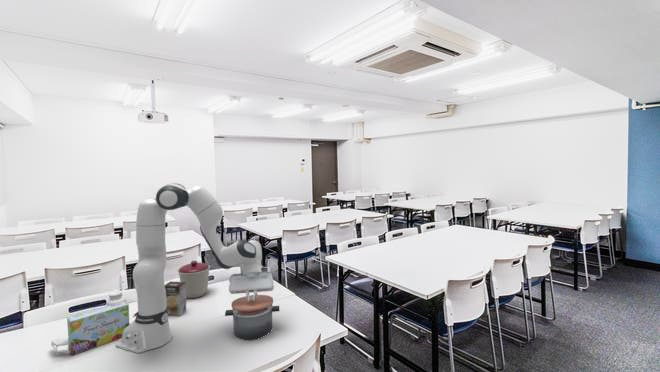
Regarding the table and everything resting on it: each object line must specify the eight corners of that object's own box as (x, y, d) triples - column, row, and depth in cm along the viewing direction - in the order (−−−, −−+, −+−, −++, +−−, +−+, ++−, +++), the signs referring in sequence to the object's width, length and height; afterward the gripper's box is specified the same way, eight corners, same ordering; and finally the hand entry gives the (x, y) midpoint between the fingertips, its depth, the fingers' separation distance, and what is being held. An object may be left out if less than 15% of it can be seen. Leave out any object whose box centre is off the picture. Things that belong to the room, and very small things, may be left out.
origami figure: (84, 344, 135) (83, 334, 134) (67, 357, 126) (65, 346, 126) (58, 345, 135) (56, 334, 135) (39, 358, 127) (38, 346, 126)
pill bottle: (104, 323, 154) (102, 294, 153) (121, 316, 161) (120, 288, 160) (113, 327, 150) (111, 297, 149) (130, 320, 157) (128, 291, 156)
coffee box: (163, 315, 161) (162, 285, 160) (171, 310, 168) (169, 281, 166) (180, 316, 160) (179, 286, 159) (187, 310, 167) (186, 281, 166)
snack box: (71, 356, 127) (69, 321, 126) (68, 351, 131) (66, 317, 130) (130, 335, 143) (128, 303, 142) (126, 330, 147) (124, 300, 146)
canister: (184, 304, 174) (182, 267, 173) (174, 294, 188) (173, 260, 186) (215, 295, 187) (214, 260, 185) (204, 286, 200) (203, 254, 199)
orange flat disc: (228, 312, 135) (228, 305, 135) (234, 299, 154) (234, 293, 154) (272, 309, 138) (272, 302, 138) (273, 296, 157) (273, 290, 157)
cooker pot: (222, 343, 135) (222, 319, 135) (229, 321, 154) (228, 300, 154) (280, 337, 140) (279, 313, 139) (279, 316, 158) (279, 296, 158)
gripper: (229, 271, 144) (226, 300, 135) (273, 268, 148) (273, 296, 139) (230, 277, 149) (228, 305, 140) (273, 274, 152) (274, 301, 143)
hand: (251, 301), depth 139 cm, fingers closed
